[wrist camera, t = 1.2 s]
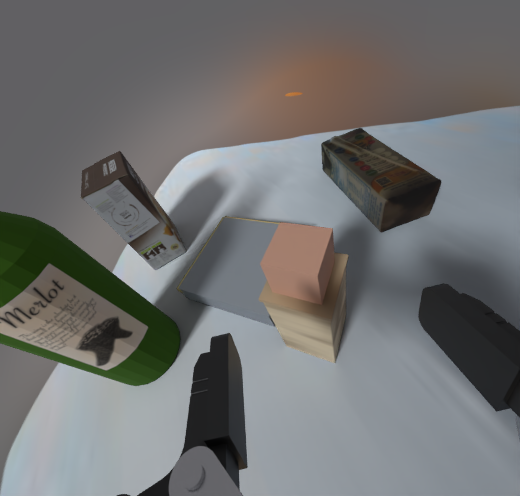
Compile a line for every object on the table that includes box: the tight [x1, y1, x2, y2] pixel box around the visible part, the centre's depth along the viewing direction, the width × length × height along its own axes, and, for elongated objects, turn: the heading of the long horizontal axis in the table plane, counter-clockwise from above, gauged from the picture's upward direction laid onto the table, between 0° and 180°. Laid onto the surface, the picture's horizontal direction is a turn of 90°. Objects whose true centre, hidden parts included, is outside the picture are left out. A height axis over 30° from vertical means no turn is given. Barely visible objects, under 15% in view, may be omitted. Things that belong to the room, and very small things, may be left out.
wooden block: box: [259, 252, 348, 363], centre depth 25 cm, size 6×6×12 cm
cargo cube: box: [260, 222, 335, 305], centre depth 19 cm, size 4×4×4 cm
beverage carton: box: [321, 128, 441, 232], centre depth 39 cm, size 8×19×7 cm, turn 17°
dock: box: [177, 216, 279, 326], centre depth 36 cm, size 14×14×3 cm
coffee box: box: [81, 151, 186, 270], centre depth 40 cm, size 9×6×16 cm
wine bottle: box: [0, 211, 180, 386], centre depth 21 cm, size 9×9×32 cm
